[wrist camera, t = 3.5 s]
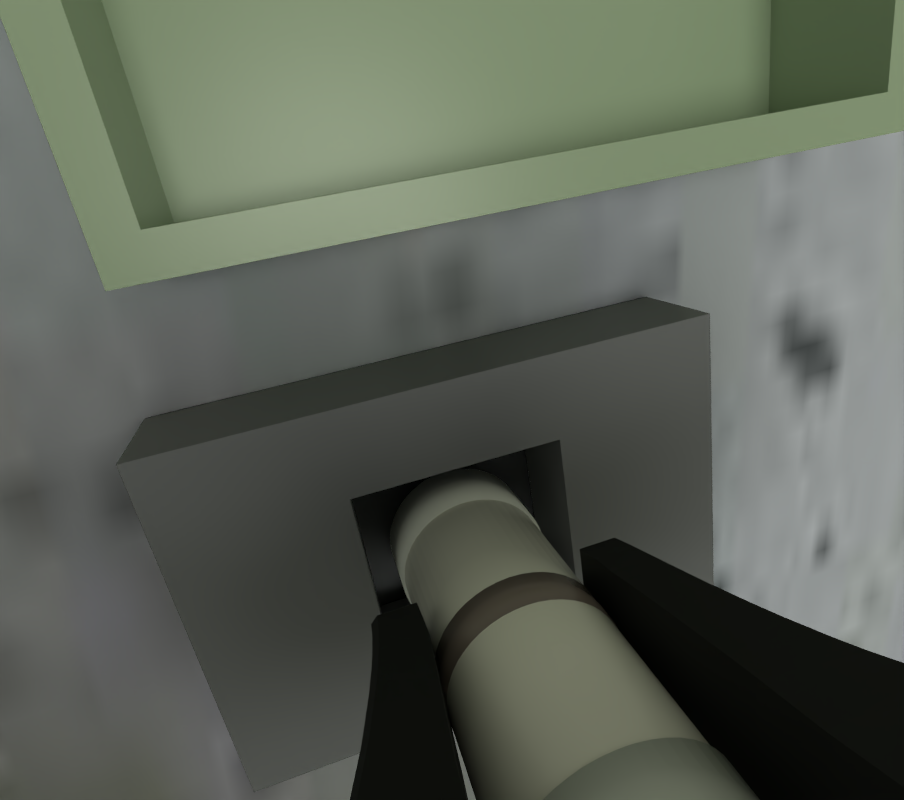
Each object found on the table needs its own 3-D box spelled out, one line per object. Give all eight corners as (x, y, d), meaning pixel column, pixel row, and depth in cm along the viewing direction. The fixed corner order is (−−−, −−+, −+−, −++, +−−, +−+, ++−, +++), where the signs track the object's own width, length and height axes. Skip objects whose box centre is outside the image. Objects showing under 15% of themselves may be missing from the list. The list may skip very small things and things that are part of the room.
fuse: (405, 605, 12) (571, 1138, 5) (377, 490, 11) (535, 959, 4) (527, 565, 13) (826, 1002, 6) (511, 452, 12) (846, 815, 5)
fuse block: (257, 708, 13) (253, 792, 11) (144, 418, 10) (116, 464, 9) (660, 570, 15) (713, 622, 13) (646, 297, 12) (710, 313, 11)
